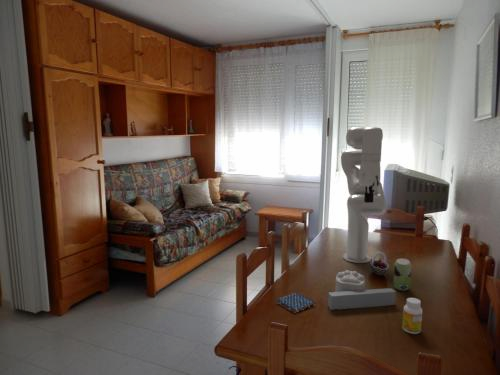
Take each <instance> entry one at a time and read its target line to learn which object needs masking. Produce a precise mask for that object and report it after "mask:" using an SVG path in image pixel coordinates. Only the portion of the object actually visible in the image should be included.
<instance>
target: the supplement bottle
mask: <svg viewBox="0 0 500 375" xmlns="http://www.w3.org/2000/svg"><path fill="white" fill-rule="evenodd" d="M405 303H406V304H405V305H404V306H403V314H402V325H401V327H402V330H403V331H405V332H406V333H408V334H412V335H417V334H419V333H421V332H422V322H423V309H422V307H421V300H420V299H418V298H416V297H408V298H406V301H405Z"/></svg>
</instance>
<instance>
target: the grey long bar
mask: <svg viewBox="0 0 500 375" xmlns="http://www.w3.org/2000/svg"><path fill="white" fill-rule="evenodd" d="M327 294H328V295H327V307H328V306H329V307H328V309H329V310H330V311H333V310H335V309H337V310H346V309H348V308H349V309H358V308H360V309H361V308H373V307H384V306H385V307H386V306H395V305H396V296H397V295H396V294H397V291H396V290H394V289H393V288H392V287H390V288H375V289H373V288H372V289H364V290H358V291H343V292H335V291H333V292H331V291H330V292H327Z"/></svg>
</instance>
